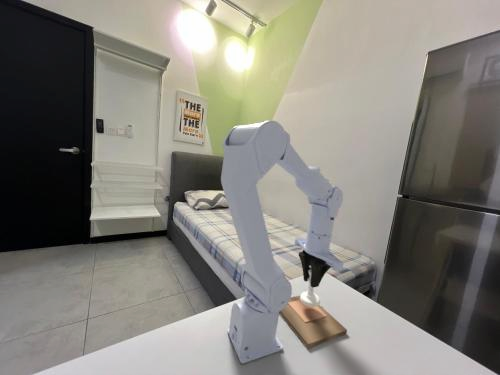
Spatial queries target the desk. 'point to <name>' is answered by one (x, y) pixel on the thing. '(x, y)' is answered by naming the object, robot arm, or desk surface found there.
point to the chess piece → (310, 295)
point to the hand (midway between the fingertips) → (310, 283)
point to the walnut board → (311, 322)
